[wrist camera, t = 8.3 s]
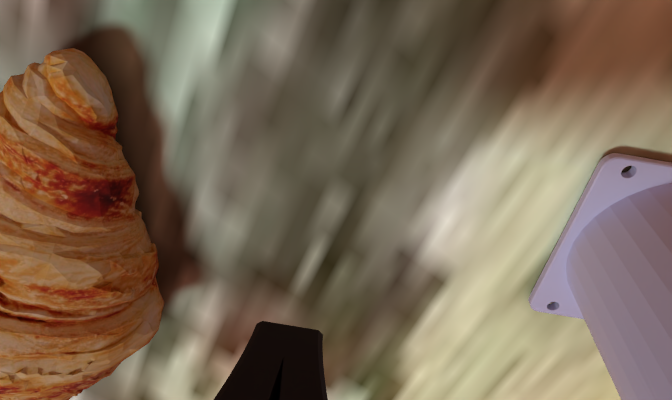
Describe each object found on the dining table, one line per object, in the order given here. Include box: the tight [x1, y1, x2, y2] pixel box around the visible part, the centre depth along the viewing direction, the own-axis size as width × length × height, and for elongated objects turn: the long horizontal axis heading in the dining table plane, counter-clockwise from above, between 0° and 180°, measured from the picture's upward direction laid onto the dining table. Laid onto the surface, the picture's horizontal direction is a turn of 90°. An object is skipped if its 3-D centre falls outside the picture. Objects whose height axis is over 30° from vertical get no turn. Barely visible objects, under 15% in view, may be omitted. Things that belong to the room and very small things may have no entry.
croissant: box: [0, 48, 164, 400], centre depth 21 cm, size 21×10×8 cm, turn 159°
